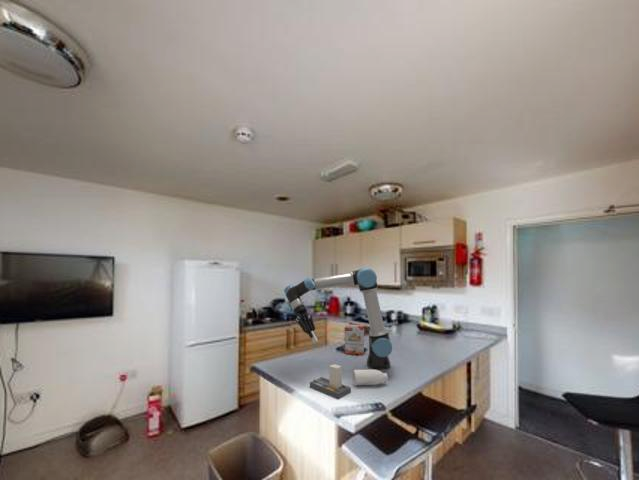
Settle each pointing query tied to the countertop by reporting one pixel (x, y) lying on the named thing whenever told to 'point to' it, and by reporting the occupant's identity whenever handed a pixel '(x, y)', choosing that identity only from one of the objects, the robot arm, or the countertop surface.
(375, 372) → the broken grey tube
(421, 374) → the countertop surface
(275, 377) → the countertop surface
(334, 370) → the switch tab
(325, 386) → the switch plate
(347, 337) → the cracker box
